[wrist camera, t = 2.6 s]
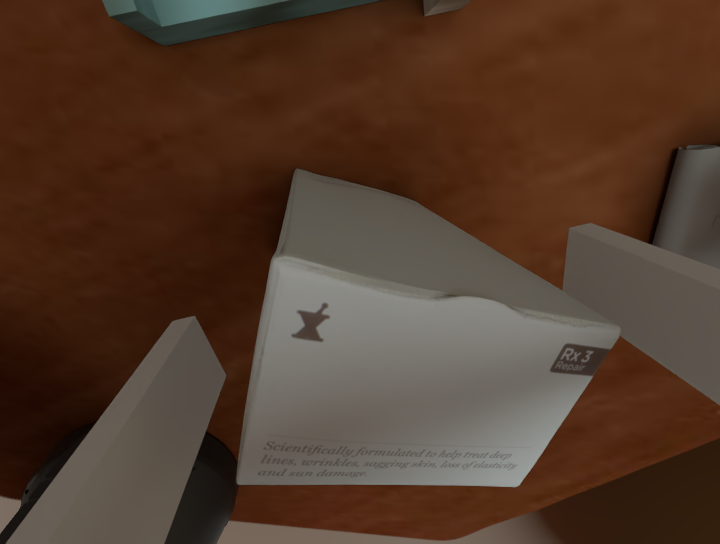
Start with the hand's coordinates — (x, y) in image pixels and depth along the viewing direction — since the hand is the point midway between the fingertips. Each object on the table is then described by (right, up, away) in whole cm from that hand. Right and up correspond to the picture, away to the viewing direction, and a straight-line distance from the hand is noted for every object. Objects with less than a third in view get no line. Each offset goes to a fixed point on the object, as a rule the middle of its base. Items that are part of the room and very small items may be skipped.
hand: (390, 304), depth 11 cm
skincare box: (-2, +4, +9) cm, 10 cm away
